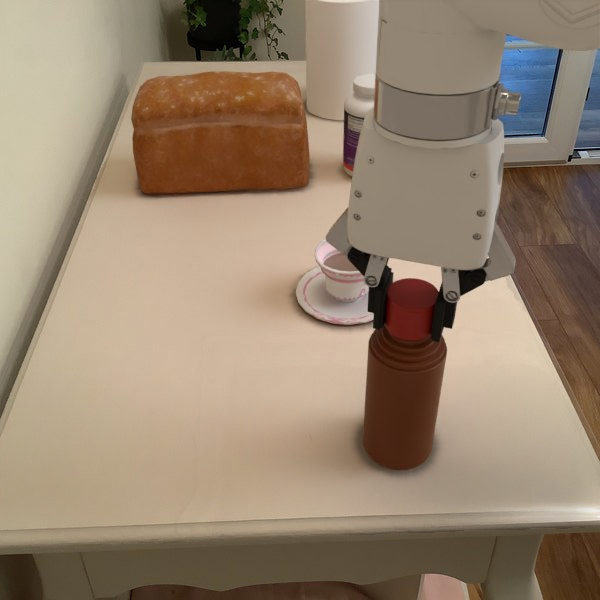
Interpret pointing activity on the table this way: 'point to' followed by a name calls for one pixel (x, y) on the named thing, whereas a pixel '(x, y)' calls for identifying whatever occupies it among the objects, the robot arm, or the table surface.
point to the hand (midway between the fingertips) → (409, 322)
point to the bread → (220, 133)
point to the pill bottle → (356, 117)
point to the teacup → (334, 289)
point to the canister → (338, 51)
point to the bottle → (402, 398)
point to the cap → (410, 309)
